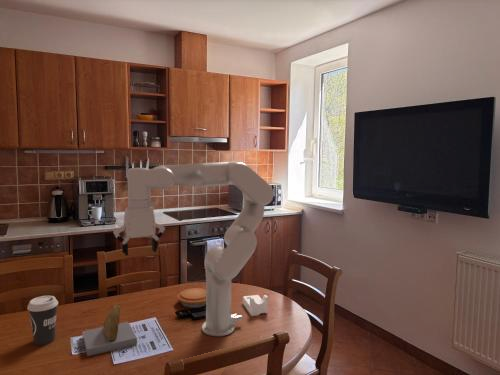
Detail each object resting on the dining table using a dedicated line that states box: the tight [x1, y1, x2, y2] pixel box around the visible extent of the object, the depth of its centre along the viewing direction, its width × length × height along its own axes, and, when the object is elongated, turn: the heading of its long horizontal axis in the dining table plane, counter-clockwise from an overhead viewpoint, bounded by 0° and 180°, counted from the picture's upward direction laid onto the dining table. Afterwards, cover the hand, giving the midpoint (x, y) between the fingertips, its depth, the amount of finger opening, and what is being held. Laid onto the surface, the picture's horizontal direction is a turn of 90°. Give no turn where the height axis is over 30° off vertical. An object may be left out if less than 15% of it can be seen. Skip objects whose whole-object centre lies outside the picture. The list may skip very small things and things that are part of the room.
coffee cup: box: [27, 295, 59, 346], centre depth 132 cm, size 10×10×15 cm
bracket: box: [242, 294, 269, 317], centre depth 162 cm, size 13×7×8 cm, turn 17°
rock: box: [103, 303, 121, 340], centre depth 133 cm, size 11×9×10 cm
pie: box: [176, 287, 206, 309], centre depth 167 cm, size 15×16×5 cm
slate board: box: [82, 321, 138, 357], centre depth 133 cm, size 16×14×2 cm
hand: (140, 252), depth 130 cm, fingers open, 9 cm apart
